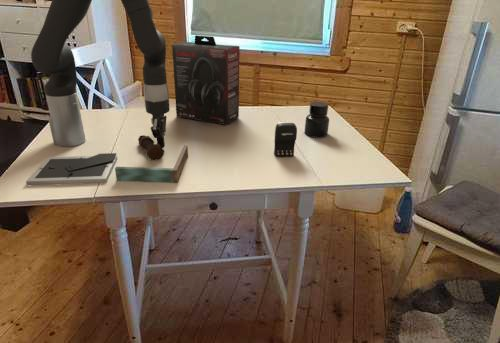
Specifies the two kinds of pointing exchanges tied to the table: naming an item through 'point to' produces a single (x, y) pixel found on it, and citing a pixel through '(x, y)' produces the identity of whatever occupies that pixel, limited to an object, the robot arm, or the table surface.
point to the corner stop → (154, 171)
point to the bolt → (151, 147)
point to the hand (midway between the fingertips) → (161, 147)
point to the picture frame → (74, 170)
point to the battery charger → (285, 139)
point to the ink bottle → (317, 120)
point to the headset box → (206, 80)
